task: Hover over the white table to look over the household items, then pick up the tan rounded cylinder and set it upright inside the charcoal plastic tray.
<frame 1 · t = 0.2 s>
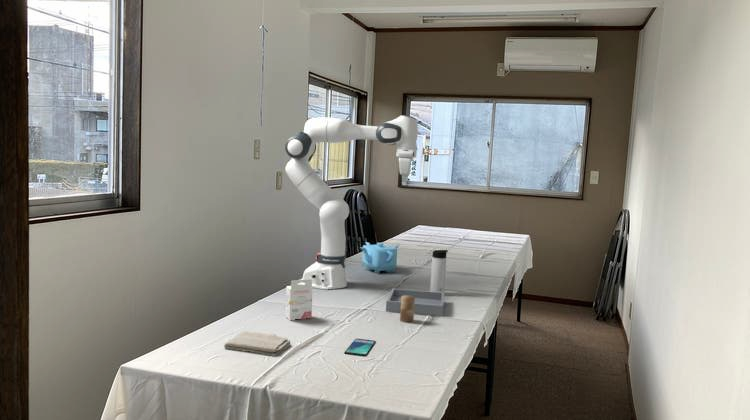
hand: (404, 184, 259), 48 cm above the table, fingers open, 8 cm apart
tray: (415, 306, 240), on the table
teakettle: (377, 270, 306), on the table
smartphone: (360, 349, 188), on the table
ink cartridge box: (298, 318, 216), on the table
tan rounded cylinder: (406, 320, 220), on the table
travel mug: (437, 294, 263), on the table
washcloth: (257, 348, 184), on the table
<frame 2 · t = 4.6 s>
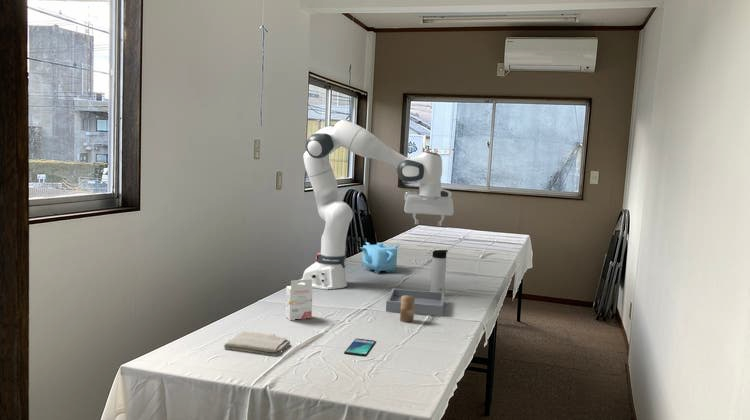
hand: (428, 225, 243), 33 cm above the table, fingers open, 8 cm apart
nothing on the table moved.
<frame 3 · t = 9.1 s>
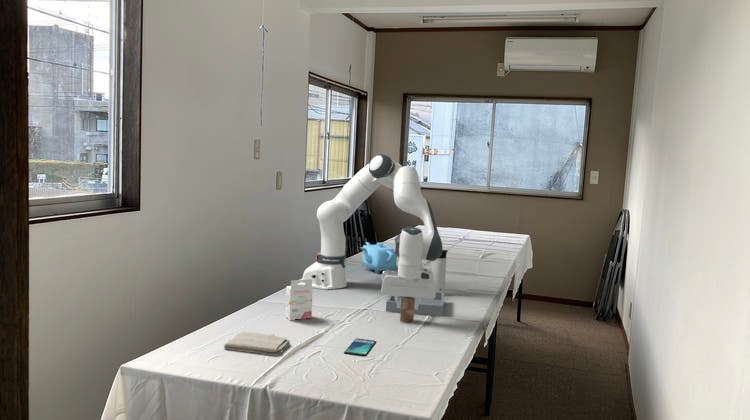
hand: (407, 308, 219), 5 cm above the table, fingers closed on tan rounded cylinder, 5 cm apart
tan rounded cylinder: (406, 320, 220), on the table, touching gripper
everything else where it was.
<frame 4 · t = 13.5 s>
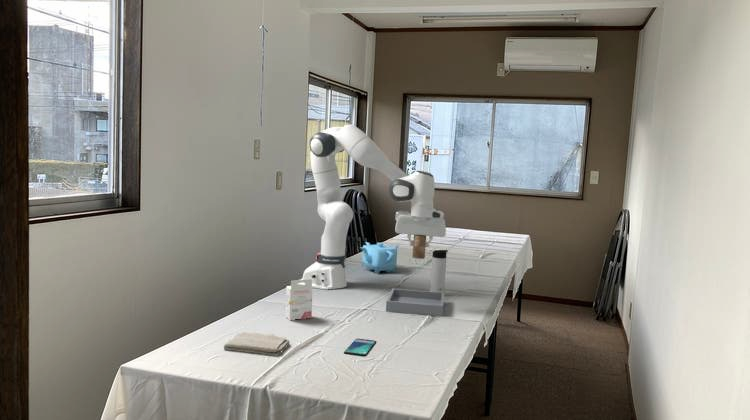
hand: (419, 246, 237), 25 cm above the table, fingers closed on tan rounded cylinder, 5 cm apart
tan rounded cylinder: (418, 257, 238), point 20 cm above the table, touching gripper
everything else where it was.
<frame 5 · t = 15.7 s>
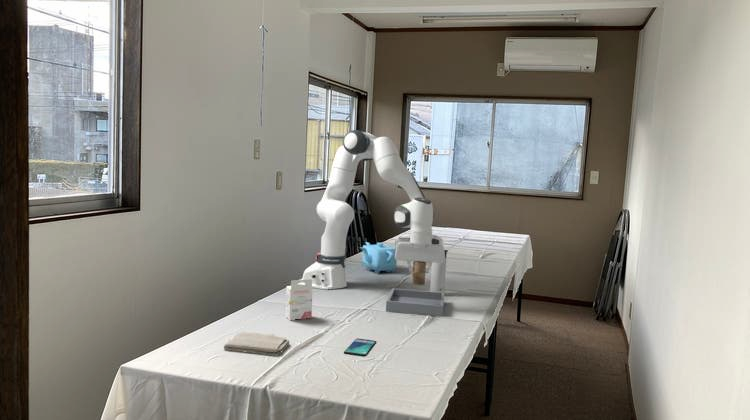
hand: (419, 272, 239), 14 cm above the table, fingers closed on tan rounded cylinder, 5 cm apart
tan rounded cylinder: (418, 283, 240), point 9 cm above the table, touching gripper
everything else where it was.
when the fingers open (8 cm above the table, at t = 17.8 s): tan rounded cylinder drops 2 cm, resting on tray.
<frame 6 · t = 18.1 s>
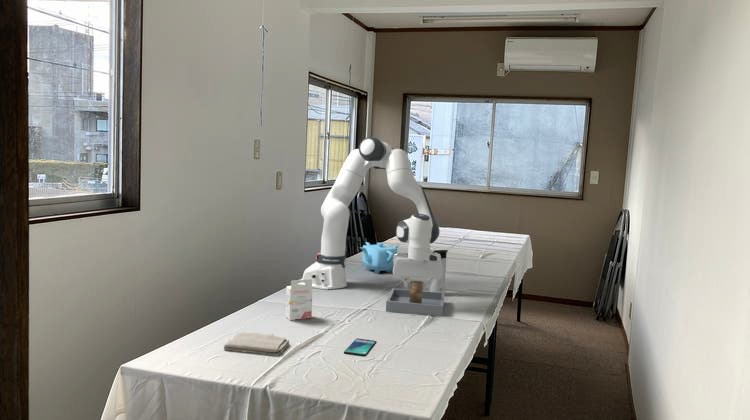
hand: (416, 288, 239), 8 cm above the table, fingers open, 8 cm apart
tan rounded cylinder: (415, 303, 240), point 1 cm above the table, touching tray
everything else where it was.
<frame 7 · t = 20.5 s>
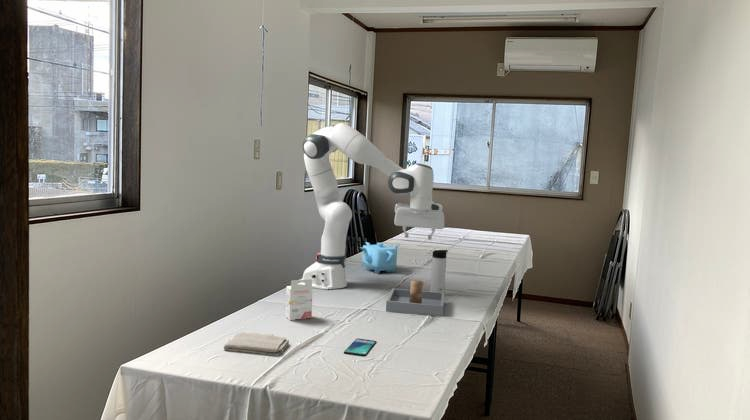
hand: (418, 238, 239), 28 cm above the table, fingers open, 8 cm apart
nothing on the table moved.
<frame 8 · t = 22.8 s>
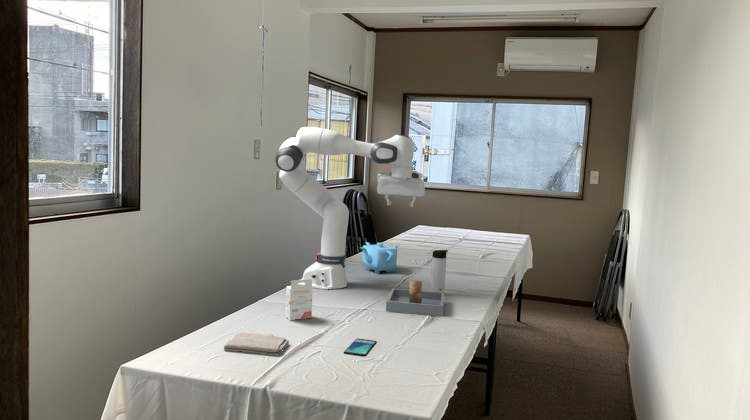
hand: (400, 206, 251), 39 cm above the table, fingers open, 8 cm apart
nothing on the table moved.
at the end: tan rounded cylinder inside the target area on the tray (0.2 cm from its centre), point 1.1 cm above the tray's base; tan rounded cylinder tilted 2°; the gripper is holding nothing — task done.
